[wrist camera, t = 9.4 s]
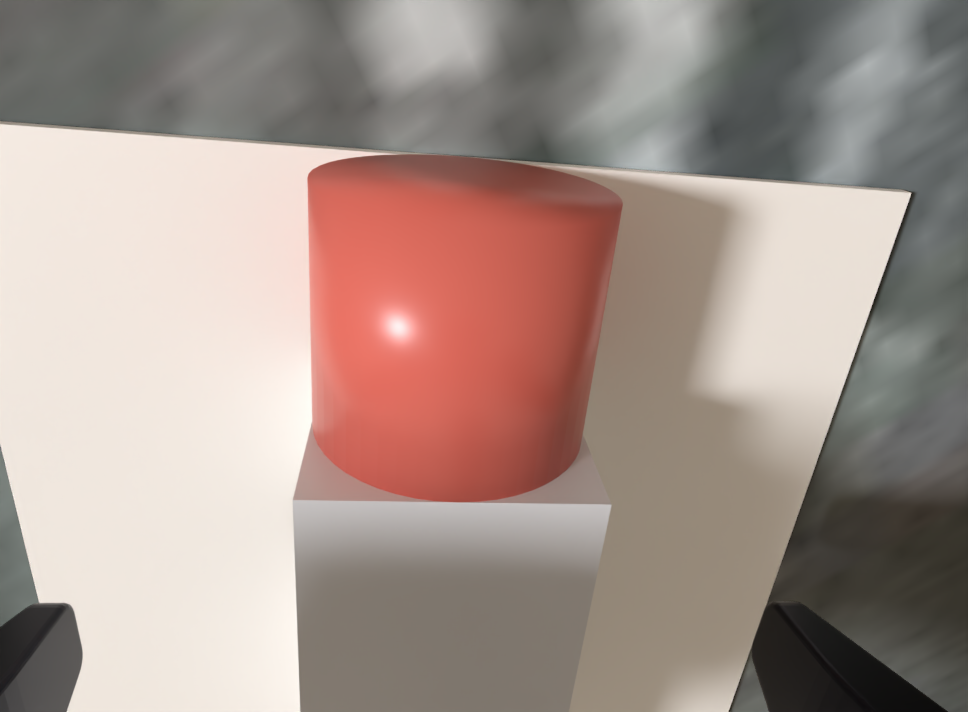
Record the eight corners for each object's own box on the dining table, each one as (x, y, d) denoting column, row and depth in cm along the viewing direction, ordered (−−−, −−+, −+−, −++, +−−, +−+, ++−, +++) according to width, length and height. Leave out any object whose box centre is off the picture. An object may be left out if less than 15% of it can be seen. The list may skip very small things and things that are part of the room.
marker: (502, 718, 14) (527, 913, 11) (330, 723, 14) (307, 924, 11) (584, 165, 9) (666, 238, 6) (325, 146, 9) (282, 213, 6)
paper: (658, 893, 18) (661, 902, 18) (123, 922, 16) (120, 932, 16) (903, 189, 10) (911, 192, 10) (-70, 115, 9) (-80, 118, 8)
